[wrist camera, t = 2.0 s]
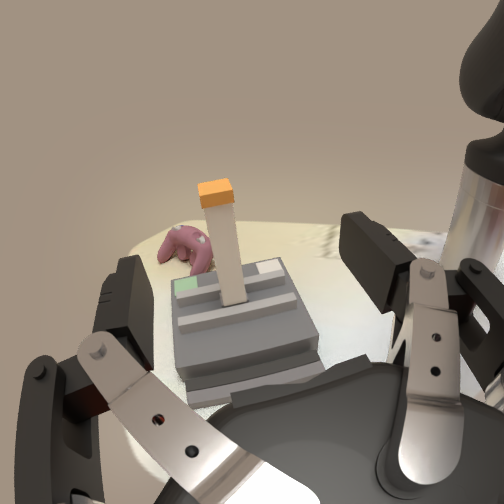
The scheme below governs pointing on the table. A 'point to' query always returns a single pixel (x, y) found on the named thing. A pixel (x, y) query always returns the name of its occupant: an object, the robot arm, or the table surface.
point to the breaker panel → (238, 322)
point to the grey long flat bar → (252, 379)
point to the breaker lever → (224, 240)
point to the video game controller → (187, 248)
